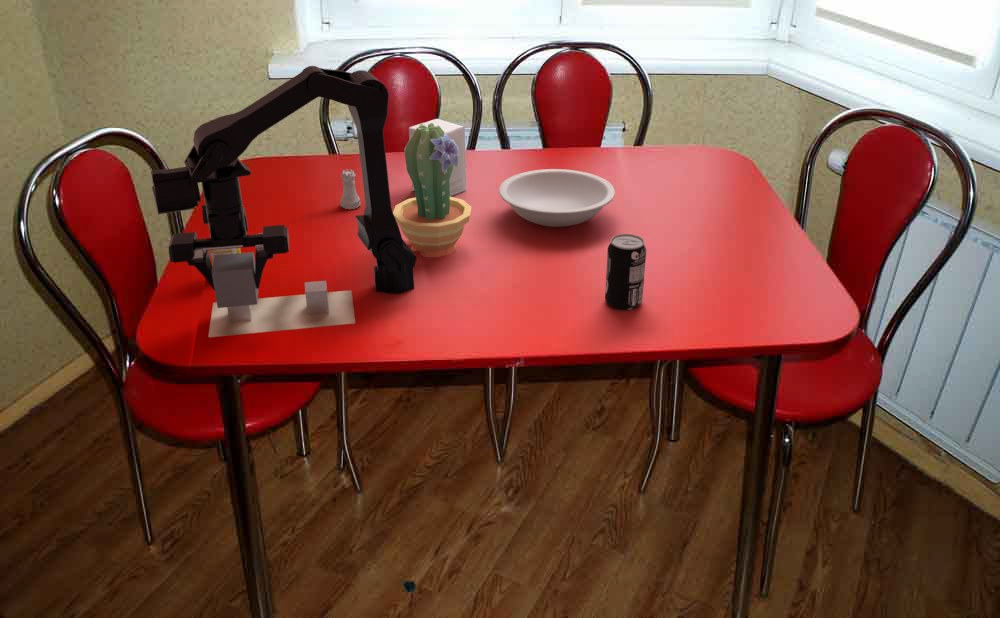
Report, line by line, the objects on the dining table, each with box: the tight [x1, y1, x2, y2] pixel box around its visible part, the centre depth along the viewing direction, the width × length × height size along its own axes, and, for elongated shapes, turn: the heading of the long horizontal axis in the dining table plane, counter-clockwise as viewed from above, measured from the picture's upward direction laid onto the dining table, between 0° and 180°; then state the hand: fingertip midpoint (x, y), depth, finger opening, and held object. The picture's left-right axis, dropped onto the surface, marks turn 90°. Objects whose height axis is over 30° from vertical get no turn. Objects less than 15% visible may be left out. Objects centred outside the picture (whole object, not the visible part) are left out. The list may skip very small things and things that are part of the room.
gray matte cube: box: [212, 251, 259, 308], centre depth 160 cm, size 6×6×7 cm
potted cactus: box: [392, 123, 472, 258], centre depth 184 cm, size 15×15×25 cm
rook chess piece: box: [339, 169, 362, 210], centre depth 206 cm, size 4×4×8 cm
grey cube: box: [304, 280, 329, 315], centre depth 165 cm, size 4×4×4 cm
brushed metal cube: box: [227, 305, 252, 323], centre depth 163 cm, size 4×4×4 cm
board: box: [208, 290, 356, 338], centre depth 165 cm, size 24×12×1 cm, turn 101°
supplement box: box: [408, 118, 467, 197], centre depth 212 cm, size 9×9×15 cm
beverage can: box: [604, 233, 647, 311], centre depth 167 cm, size 7×7×12 cm
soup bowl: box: [498, 168, 616, 228], centre depth 200 cm, size 24×24×7 cm
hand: (237, 289), depth 161 cm, fingers closed on gray matte cube, 6 cm apart
